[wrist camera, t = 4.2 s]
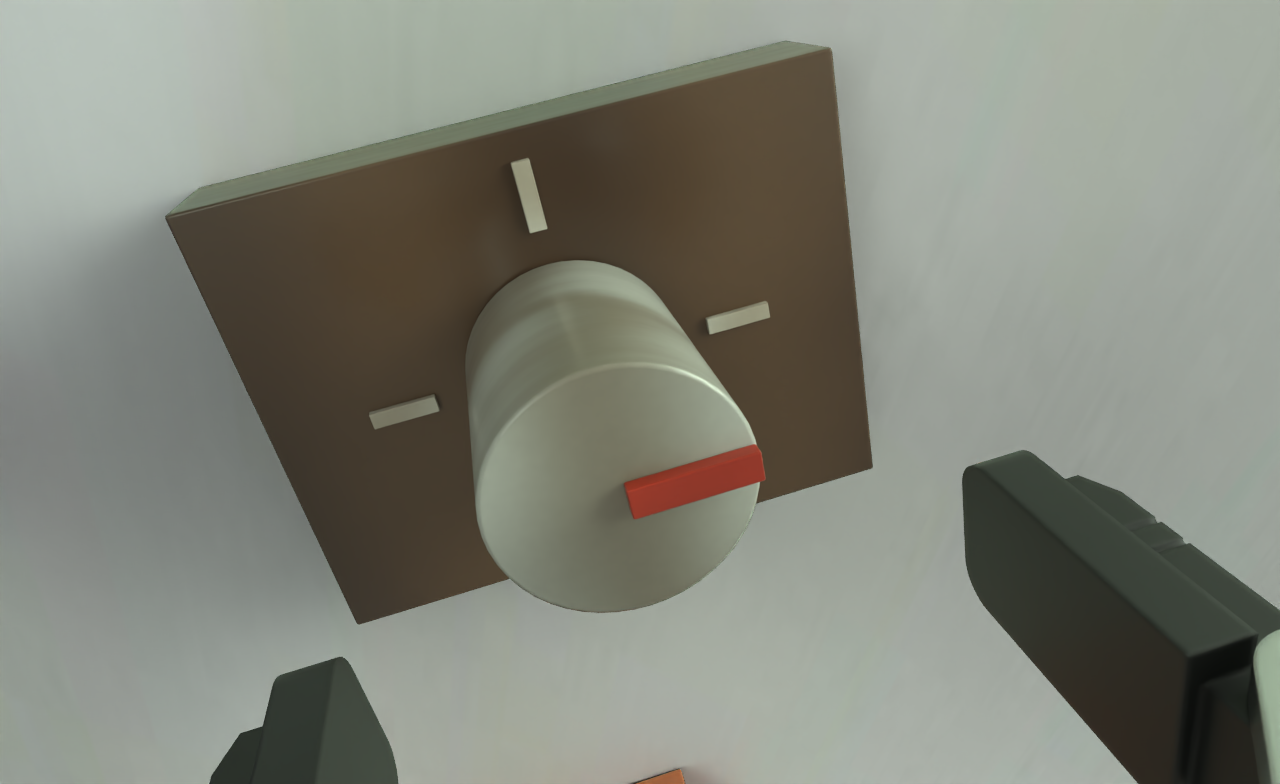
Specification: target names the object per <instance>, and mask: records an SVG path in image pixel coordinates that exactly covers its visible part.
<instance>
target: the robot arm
mask: <svg viewBox="0 0 1280 784" xmlns="http://www.w3.org/2000/svg"><path fill="white" fill-rule="evenodd" d="M962 489H963V512H964V536H965V558H966V566H967V570H968V574H969V577H970V580H971V583H972V585H973V588H974V590H975V592H976V594H977V596H978V597H979V599H980V601H981V602H982V604H983V605H984V606H985V608H986V609H987V610H988V611H989V612H990V614H991V615H992V616H993V617H994V618H995V619H996V621H997V622H998V623H999V624H1000V625H1001V626H1002V627H1003V629H1004V630H1005V631H1006V632H1007V633H1008V634H1009V635H1010V637H1011V638H1012V639H1013V640H1014V641H1015V642H1016V644H1017V645H1018V646H1019V647H1020V648H1021V649H1022V650H1023V652H1024V653H1025V654H1026V655H1027V656H1028V657H1029V658H1030V660H1031V661H1032V662H1033V663H1034V664H1035V665H1036V666H1037V668H1038V669H1039V670H1040V671H1041V672H1042V673H1043V675H1044V676H1045V677H1046V678H1047V679H1048V680H1049V681H1050V683H1051V684H1052V685H1053V686H1054V687H1055V688H1056V689H1057V691H1058V692H1059V693H1060V694H1061V695H1062V696H1063V698H1064V699H1065V700H1066V701H1067V702H1068V703H1069V704H1070V706H1071V707H1072V708H1073V709H1074V710H1075V711H1076V712H1077V714H1078V715H1079V716H1080V717H1081V718H1082V719H1083V721H1084V722H1085V723H1086V724H1087V725H1088V726H1089V727H1090V729H1091V730H1092V731H1093V732H1094V733H1095V734H1096V735H1097V737H1098V738H1099V739H1100V740H1101V741H1102V742H1103V743H1104V745H1105V746H1106V747H1107V748H1108V749H1109V750H1110V752H1111V753H1112V754H1113V755H1114V756H1115V757H1116V758H1117V760H1118V761H1119V762H1120V763H1121V764H1122V765H1123V766H1124V768H1125V769H1126V770H1127V771H1128V772H1129V773H1130V775H1131V776H1132V777H1133V778H1134V779H1135V780H1136V781H1137V783H1138V784H1280V610H1278V609H1277V608H1276V607H1274V606H1273V605H1272V604H1270V603H1269V602H1268V601H1266V600H1265V599H1264V598H1262V597H1261V596H1260V595H1258V594H1257V593H1256V592H1254V591H1253V590H1252V589H1250V588H1249V587H1248V586H1246V585H1245V584H1244V583H1242V582H1241V581H1240V580H1238V579H1237V578H1236V577H1234V576H1233V575H1232V574H1230V573H1229V572H1228V571H1226V570H1225V569H1224V568H1222V567H1221V566H1220V565H1218V564H1217V563H1216V562H1214V561H1213V560H1212V559H1210V558H1209V557H1208V556H1206V555H1205V554H1204V553H1202V552H1201V551H1200V550H1198V549H1197V548H1196V547H1194V546H1193V545H1192V544H1190V543H1189V544H1185V543H1184V541H1183V538H1182V537H1181V536H1180V535H1178V534H1177V533H1176V532H1174V531H1173V530H1172V529H1170V528H1169V527H1168V526H1166V525H1165V524H1164V523H1162V522H1160V523H1157V522H1156V520H1155V517H1154V516H1153V515H1152V514H1150V513H1149V512H1148V511H1146V510H1145V509H1144V508H1142V507H1141V506H1140V505H1138V504H1137V503H1135V502H1134V501H1133V500H1131V499H1130V498H1129V497H1127V496H1126V495H1125V494H1123V493H1122V492H1120V491H1118V490H1115V489H1112V488H1110V487H1107V486H1105V485H1102V484H1099V483H1097V482H1094V481H1092V480H1089V479H1086V478H1084V477H1081V476H1079V475H1077V476H1074V477H1071V478H1068V479H1064V478H1063V477H1062V476H1061V475H1059V474H1058V473H1057V472H1055V471H1054V470H1053V469H1052V468H1050V467H1049V466H1048V465H1047V464H1045V463H1044V462H1043V461H1042V460H1040V459H1039V458H1038V457H1037V456H1035V455H1034V454H1032V453H1031V452H1029V451H1025V450H1021V451H1017V452H1014V453H1011V454H1008V455H1004V456H1001V457H998V458H994V459H991V460H988V461H985V462H981V463H978V464H975V465H972V466H969V467H967V468H966V469H965V471H964V473H963V478H962ZM209 784H398V776H397V769H396V764H395V760H394V756H393V752H392V749H391V746H390V744H389V741H388V739H387V737H386V735H385V733H384V731H383V729H382V727H381V725H380V723H379V721H378V719H377V717H376V715H375V713H374V711H373V709H372V707H371V705H370V703H369V701H368V699H367V697H366V695H365V693H364V691H363V689H362V687H361V685H360V683H359V681H358V679H357V677H356V675H355V673H354V671H353V669H352V667H351V665H350V664H349V663H348V661H347V660H346V659H345V658H343V657H338V658H334V659H331V660H328V661H325V662H321V663H318V664H315V665H311V666H308V667H305V668H302V669H298V670H295V671H292V672H289V673H285V674H282V675H280V676H278V677H277V678H276V679H275V681H274V683H273V687H272V690H271V695H270V699H269V703H268V707H267V711H266V715H265V719H264V724H263V727H259V728H256V729H253V730H250V731H247V732H243V733H240V735H239V736H238V738H237V739H236V740H235V742H234V743H233V745H232V746H231V748H230V749H229V751H228V752H227V754H226V755H225V757H224V758H223V760H222V761H221V763H220V764H219V766H218V767H217V768H216V770H215V771H214V773H213V774H212V776H211V780H210V783H209Z"/></svg>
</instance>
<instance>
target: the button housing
mask: <svg viewBox="0 0 1280 784" xmlns="http://www.w3.org/2000/svg"><path fill="white" fill-rule="evenodd" d="M635 784H685V780H684V777H683V774H682V771H681V770H680V769H677V770H674V771H671V772H668V773H665V774H662V775H659V776H656V777H653V778H650V779H647V780H644V781H641V782H638V783H635Z"/></svg>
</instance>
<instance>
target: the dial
mask: <svg viewBox="0 0 1280 784" xmlns="http://www.w3.org/2000/svg"><path fill="white" fill-rule="evenodd" d="M465 373H466V387H467V400H468V413H469V426H470V440H471V453H472V466H473V480H474V493H475V506H476V515H477V522H478V526H479V529H480V533H481V537H482V539H483V541H484V543H485V545H486V548H487V550H488V552H489V553H490V555H491V556H492V558H493V559H494V561H495V563H496V564H497V565H498V566H499V568H500V569H501V570H502V571H503V572H504V573H505V574H506V575H507V576H508V577H509V578H510V579H511V580H512V581H513V582H515V583H516V584H517V585H518V586H519V587H521V588H522V589H523V590H525V591H527V592H528V593H530V594H532V595H533V596H535V597H537V598H539V599H541V600H543V601H546V602H548V603H550V604H553V605H556V606H560V607H563V608H566V609H572V610H577V611H583V612H597V613H605V612H620V611H627V610H634V609H638V608H642V607H646V606H650V605H653V604H656V603H658V602H661V601H664V600H666V599H669V598H671V597H673V596H675V595H677V594H679V593H681V592H683V591H685V590H686V589H688V588H690V587H691V586H693V585H694V584H696V583H698V582H699V581H700V580H702V579H703V578H704V577H705V576H707V575H708V574H709V573H711V572H712V571H713V570H714V569H715V568H716V567H717V566H718V565H719V564H720V563H721V562H722V561H723V560H724V559H725V558H726V557H727V556H728V554H729V553H730V552H731V551H732V550H733V548H734V547H735V546H736V544H737V543H738V541H739V540H740V538H741V536H742V535H743V533H744V532H745V529H746V527H747V525H748V523H749V521H750V519H751V517H752V514H753V511H754V508H755V505H756V502H757V496H758V491H759V486H760V482H761V481H764V480H765V479H766V477H765V471H764V465H763V459H762V453H761V451H760V450H759V448H758V447H757V444H756V440H755V437H754V435H753V432H752V430H751V428H750V425H749V423H748V421H747V420H746V418H745V417H744V415H743V413H742V412H741V410H740V409H739V407H738V406H737V405H736V403H735V402H734V400H733V399H732V398H731V396H730V395H729V393H728V392H727V391H726V389H725V388H724V386H723V385H722V384H721V382H720V381H719V380H718V378H717V377H716V375H715V374H714V373H713V371H712V370H711V368H710V367H709V366H708V364H707V363H706V361H705V360H704V359H703V357H702V356H701V354H700V353H699V352H698V350H697V349H696V348H695V346H694V345H693V343H692V342H691V341H690V339H689V338H688V336H687V335H686V334H685V332H684V331H683V329H682V328H681V327H680V325H679V324H678V322H677V321H676V320H675V318H674V317H673V316H672V314H671V313H670V311H669V310H668V309H667V307H666V306H665V304H664V303H663V302H662V300H661V299H660V298H659V297H658V296H657V294H656V293H655V292H654V291H653V290H652V289H651V288H650V287H649V286H648V285H646V284H645V283H644V282H643V281H642V280H640V279H639V278H637V277H636V276H634V275H633V274H631V273H629V272H627V271H625V270H622V269H620V268H618V267H615V266H612V265H609V264H605V263H600V262H595V261H584V260H572V261H561V262H556V263H551V264H547V265H544V266H541V267H538V268H535V269H532V270H530V271H528V272H526V273H524V274H522V275H520V276H519V277H517V278H516V279H514V280H513V281H511V282H509V283H508V284H507V285H506V286H504V287H503V288H502V289H501V290H500V291H499V292H497V293H496V294H495V296H494V297H493V298H492V299H491V300H490V301H489V302H488V303H487V305H486V306H485V308H484V309H483V310H482V312H481V313H480V315H479V316H478V318H477V320H476V323H475V325H474V327H473V329H472V332H471V335H470V338H469V341H468V345H467V350H466V359H465Z"/></svg>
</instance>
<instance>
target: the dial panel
mask: <svg viewBox="0 0 1280 784" xmlns="http://www.w3.org/2000/svg"><path fill="white" fill-rule="evenodd" d="M165 219H166V221H167V223H168V225H169V227H170V230H171V232H172V234H173V236H174V238H175V240H176V242H177V244H178V246H179V249H180V251H181V253H182V255H183V257H184V259H185V261H186V263H187V265H188V268H189V270H190V272H191V274H192V276H193V278H194V280H195V282H196V284H197V287H198V289H199V291H200V293H201V295H202V297H203V299H204V301H205V303H206V306H207V308H208V310H209V312H210V314H211V316H212V318H213V320H214V322H215V325H216V327H217V329H218V331H219V333H220V335H221V337H222V339H223V342H224V344H225V346H226V348H227V350H228V352H229V354H230V356H231V358H232V361H233V363H234V365H235V367H236V369H237V371H238V373H239V375H240V377H241V380H242V382H243V384H244V386H245V388H246V390H247V392H248V394H249V396H250V399H251V401H252V403H253V405H254V407H255V409H256V411H257V413H258V415H259V418H260V420H261V422H262V424H263V426H264V428H265V430H266V432H267V434H268V437H269V439H270V441H271V443H272V445H273V447H274V449H275V451H276V453H277V456H278V458H279V460H280V462H281V464H282V466H283V468H284V470H285V472H286V475H287V477H288V479H289V481H290V483H291V485H292V487H293V489H294V491H295V494H296V496H297V498H298V500H299V502H300V504H301V506H302V508H303V510H304V513H305V515H306V517H307V519H308V521H309V523H310V525H311V527H312V530H313V532H314V534H315V536H316V538H317V540H318V542H319V544H320V546H321V549H322V551H323V553H324V555H325V557H326V559H327V561H328V563H329V565H330V568H331V570H332V572H333V574H334V576H335V578H336V580H337V582H338V584H339V587H340V589H341V591H342V593H343V595H344V597H345V599H346V601H347V603H348V606H349V608H350V610H351V612H352V614H353V616H354V618H355V620H356V622H357V624H363V623H366V622H369V621H372V620H376V619H379V618H382V617H386V616H389V615H392V614H395V613H399V612H402V611H405V610H408V609H412V608H415V607H418V606H422V605H425V604H428V603H431V602H435V601H438V600H441V599H445V598H448V597H451V596H454V595H458V594H461V593H464V592H468V591H471V590H474V589H477V588H481V587H484V586H487V585H491V584H494V583H497V582H500V581H504V580H507V579H510V578H509V577H508V576H507V575H506V574H505V573H504V572H503V571H502V570H501V569H500V568H499V566H498V565H497V564H496V563H495V561H494V559H493V558H492V556H491V555H490V553H489V552H488V550H487V548H486V545H485V543H484V541H483V539H482V537H481V533H480V529H479V526H478V522H477V515H476V506H475V493H474V480H473V466H472V453H471V440H470V426H469V413H468V400H467V387H466V373H465V359H466V350H467V345H468V341H469V338H470V335H471V332H472V329H473V327H474V325H475V323H476V320H477V318H478V316H479V315H480V313H481V312H482V310H483V309H484V308H485V306H486V305H487V303H488V302H489V301H490V300H491V299H492V298H493V297H494V296H495V294H496V293H497V292H499V291H500V290H501V289H502V288H503V287H504V286H506V285H507V284H508V283H509V282H511V281H513V280H514V279H516V278H517V277H519V276H520V275H522V274H524V273H526V272H528V271H530V270H532V269H535V268H538V267H541V266H544V265H547V264H551V263H556V262H561V261H572V260H584V261H595V262H600V263H605V264H609V265H612V266H615V267H618V268H620V269H622V270H625V271H627V272H629V273H631V274H633V275H634V276H636V277H637V278H639V279H640V280H642V281H643V282H644V283H645V284H646V285H648V286H649V287H650V288H651V289H652V290H653V291H654V292H655V293H656V294H657V296H658V297H659V298H660V299H661V300H662V302H663V303H664V304H665V306H666V307H667V309H668V310H669V311H670V313H671V314H672V316H673V317H674V318H675V320H676V321H677V322H678V324H679V325H680V327H681V328H682V329H683V331H684V332H685V334H686V335H687V336H688V338H689V339H690V341H691V342H692V343H693V345H694V346H695V348H696V349H697V350H698V352H699V353H700V354H701V356H702V357H703V359H704V360H705V361H706V363H707V364H708V366H709V367H710V368H711V370H712V371H713V373H714V374H715V375H716V377H717V378H718V380H719V381H720V382H721V384H722V385H723V386H724V388H725V389H726V391H727V392H728V393H729V395H730V396H731V398H732V399H733V400H734V402H735V403H736V405H737V406H738V407H739V409H740V410H741V412H742V413H743V415H744V417H745V418H746V420H747V421H748V423H749V425H750V428H751V430H752V432H753V435H754V437H755V440H756V444H757V447H758V448H759V450H760V451H761V453H762V459H763V465H764V471H765V477H766V479H765V480H764V481H761V482H760V486H759V491H758V496H757V502H756V503H759V502H763V501H766V500H769V499H773V498H776V497H779V496H782V495H786V494H789V493H792V492H796V491H799V490H802V489H805V488H809V487H812V486H815V485H819V484H822V483H825V482H828V481H832V480H835V479H838V478H841V477H845V476H848V475H851V474H855V473H858V472H861V471H864V470H868V469H871V468H872V467H873V465H872V455H871V445H870V435H869V424H868V414H867V404H866V394H865V383H864V373H863V363H862V353H861V343H860V332H859V322H858V312H857V302H856V291H855V281H854V271H853V261H852V250H851V240H850V230H849V220H848V209H847V199H846V189H845V179H844V169H843V158H842V148H841V138H840V128H839V117H838V107H837V97H836V87H835V76H834V66H833V56H832V49H831V48H829V47H822V46H816V45H809V44H803V43H796V42H790V41H783V42H779V43H775V44H771V45H767V46H763V47H759V48H755V49H751V50H747V51H743V52H739V53H735V54H731V55H727V56H723V57H719V58H715V59H711V60H707V61H703V62H699V63H695V64H691V65H687V66H683V67H679V68H675V69H671V70H667V71H663V72H659V73H655V74H651V75H647V76H643V77H639V78H635V79H631V80H627V81H623V82H619V83H615V84H611V85H607V86H603V87H599V88H595V89H591V90H587V91H583V92H579V93H575V94H571V95H568V96H564V97H560V98H556V99H552V100H548V101H544V102H540V103H536V104H532V105H528V106H524V107H520V108H516V109H512V110H508V111H504V112H500V113H496V114H492V115H488V116H484V117H480V118H476V119H472V120H468V121H464V122H460V123H456V124H452V125H448V126H444V127H440V128H436V129H432V130H428V131H424V132H420V133H416V134H412V135H408V136H404V137H400V138H396V139H392V140H388V141H384V142H380V143H376V144H372V145H368V146H364V147H360V148H356V149H352V150H348V151H344V152H340V153H336V154H332V155H328V156H324V157H320V158H316V159H312V160H308V161H304V162H300V163H296V164H292V165H288V166H284V167H280V168H276V169H273V170H269V171H265V172H261V173H257V174H253V175H249V176H245V177H241V178H237V179H233V180H229V181H225V182H221V183H217V184H213V185H209V186H205V187H201V188H198V189H197V190H196V191H195V192H194V193H192V194H191V195H190V196H189V197H188V198H186V199H185V200H184V201H183V202H182V203H181V204H179V205H178V206H177V207H176V208H175V209H173V210H172V211H171V212H170V213H169V214H168V215H166V216H165Z"/></svg>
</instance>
